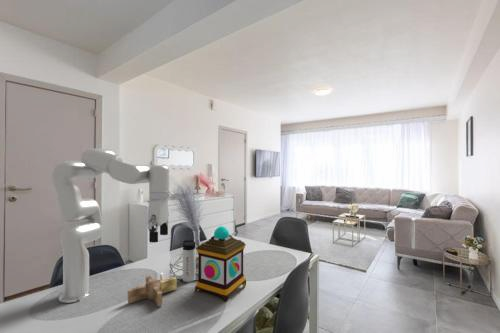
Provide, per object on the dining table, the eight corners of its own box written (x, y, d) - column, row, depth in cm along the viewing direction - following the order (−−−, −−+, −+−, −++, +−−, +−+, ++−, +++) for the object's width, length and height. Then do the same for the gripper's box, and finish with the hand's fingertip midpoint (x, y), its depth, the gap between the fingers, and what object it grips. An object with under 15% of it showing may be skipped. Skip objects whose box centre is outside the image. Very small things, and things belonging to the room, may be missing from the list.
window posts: (159, 283, 119) (159, 273, 119) (170, 280, 123) (170, 270, 123) (162, 288, 115) (162, 277, 115) (174, 284, 118) (174, 274, 118)
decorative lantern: (216, 276, 129) (216, 219, 129) (250, 285, 120) (250, 224, 120) (190, 294, 112) (190, 228, 111) (227, 306, 102) (227, 234, 102)
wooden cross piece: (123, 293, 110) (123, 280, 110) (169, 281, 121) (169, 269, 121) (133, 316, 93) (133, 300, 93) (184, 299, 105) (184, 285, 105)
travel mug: (189, 277, 129) (190, 238, 129) (198, 281, 124) (198, 241, 124) (179, 281, 124) (179, 241, 124) (187, 285, 120) (187, 244, 120)
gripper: (159, 193, 109) (159, 232, 109) (139, 198, 91) (139, 245, 92) (175, 193, 108) (175, 232, 108) (159, 199, 91) (159, 245, 91)
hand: (159, 238), depth 100 cm, fingers open, 9 cm apart
